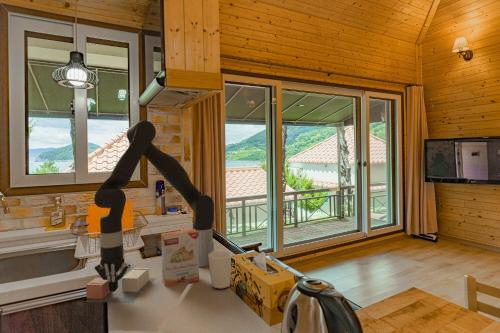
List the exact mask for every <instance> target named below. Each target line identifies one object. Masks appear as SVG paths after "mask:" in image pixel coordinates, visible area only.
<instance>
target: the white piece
mask: <svg viewBox="0 0 500 333" xmlns="http://www.w3.org/2000/svg"><path fill="white" fill-rule="evenodd" d="M156 279H157V278H156V277H150V268H149V267H134V268H132V269H131V271H129V272H127V273H125V275H124V276H123V277H122V278H121V279H120V280H118V288H117V290H116V291H115V292H110V293H109V294H108V295H107V296H105V297H104V298H103V299H91V298H87V300H86V302H90V303H91V302H95V303H96V302H97V303H100V302H101V303H128V304H129V303H132V304H133V303H134V302H135V301H136V299H138V298H139V297H140V296H141V295H142V293H143V292H145V290H146V289H147V288H148V287H149V286H150V285H151V284H152V283H153V282H154V281H155V280H156Z"/></svg>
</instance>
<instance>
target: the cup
mask: <svg viewBox="0 0 500 333" xmlns="http://www.w3.org/2000/svg"><path fill="white" fill-rule="evenodd" d="M232 257H233V258H234V253H233V252H232V251H230V250H214V252H211V253H209V254H208V258H209V266H208V267H209V273H210V280H211V282H210V283H211V287H212V288H213V289H218V290H219V291H221V290H223V289H228V288H230V286H231V285H230V273H231V258H232Z"/></svg>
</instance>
